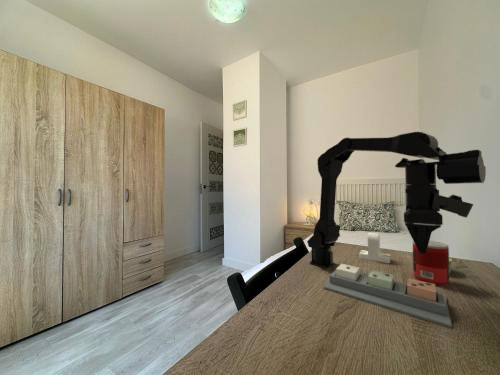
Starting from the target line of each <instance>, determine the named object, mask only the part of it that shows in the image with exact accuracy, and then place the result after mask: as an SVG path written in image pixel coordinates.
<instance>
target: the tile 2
mask: <svg viewBox="0 0 500 375" xmlns="http://www.w3.org/2000/svg"><path fill="white" fill-rule="evenodd" d="M368 275H369V276H368V285H372V286H375V287H379V288H383V289H387V290H391V291H392V288H393V285H394V281H395V279H394V278H395V275H394V274H390V273H387V272H386V273H385V272H381V271H378V270H377V271H376V270H371V271H370V272H369V274H368Z"/></svg>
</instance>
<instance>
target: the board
mask: <svg viewBox="0 0 500 375" xmlns="http://www.w3.org/2000/svg"><path fill="white" fill-rule="evenodd" d="M368 276H369V274H366V273H365V274H364V273H361V272H360V276H359V278H358V279H357V281H352V280H349V279H345V278H341V277H337V276H336V269H335V270H334V271H333V272H331V274H329V281H327V282H326V283H325V284H324V285H323V289H324V290H328V291H331V292H334V293H336V294H337V293H339V294H341V295H344V296H348V297H350V298H354V299H356V300H360V301H363V302H367V303H370V304H374V305H377V306H380V307H383V308H386V309H390V310H392V311H395V312H400V313H402V314H406V315H408V316H412V317H415V318H418V319H421V320H425V321H428V322H431V323H435V324H436V325H437V324H438V325H441V326H445V327H447V328H451V329H452V326H453V325H452V321H451V316H450V313H449V307H448V301H447V298H446V295H445V294H444V292H443V291H438V290H436V302H433V301H429V300H425V299H422V298H418V297H414V296H410V295H407V283H404V282H400V281H396V280H394V285H393V288H392V291H391V290H387V289H383V288H379V287H375V286H372V285H368Z"/></svg>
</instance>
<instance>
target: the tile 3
mask: <svg viewBox="0 0 500 375" xmlns="http://www.w3.org/2000/svg"><path fill="white" fill-rule="evenodd" d="M406 284H407V295H410V296H414V297H418V298H422V299H425V300H429V301H433V302H436V291H437V289H436V285H435V284H432V283H428V282H423V281H419V280H417V279H413V278H407V283H406Z"/></svg>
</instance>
